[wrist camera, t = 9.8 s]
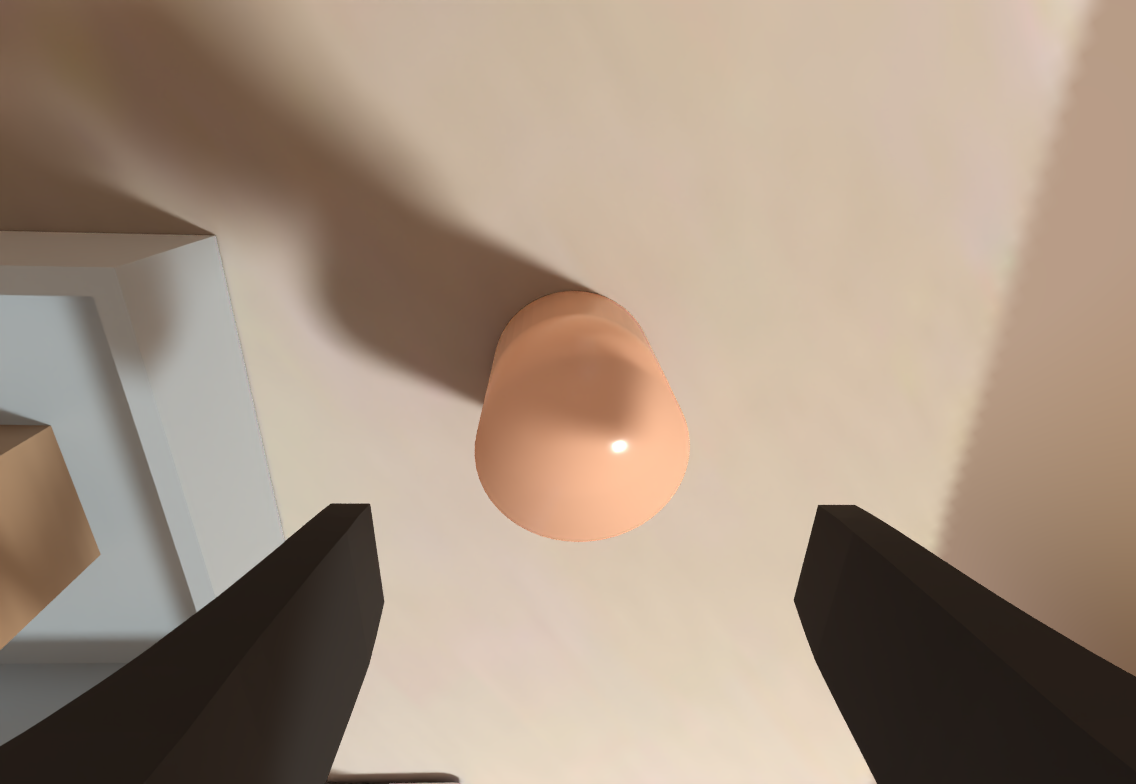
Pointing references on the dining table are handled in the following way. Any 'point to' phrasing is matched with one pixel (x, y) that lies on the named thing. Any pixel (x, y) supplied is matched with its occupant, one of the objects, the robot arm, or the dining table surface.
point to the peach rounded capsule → (579, 422)
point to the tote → (130, 445)
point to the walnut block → (37, 526)
